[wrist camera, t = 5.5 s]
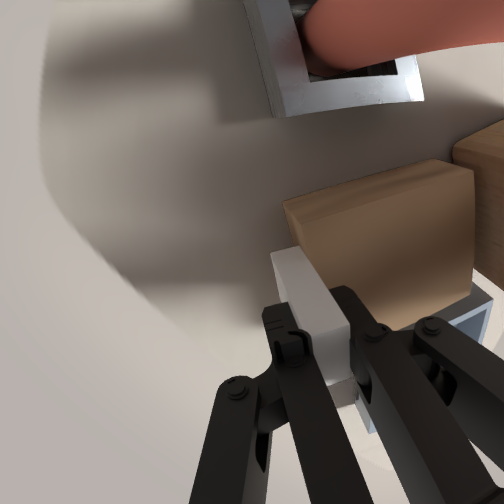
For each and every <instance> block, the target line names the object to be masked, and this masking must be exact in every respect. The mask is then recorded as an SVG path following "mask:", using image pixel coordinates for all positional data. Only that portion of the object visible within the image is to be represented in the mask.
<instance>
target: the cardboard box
mask: <svg viewBox="0 0 504 504" xmlns="http://www.w3.org/2000/svg"><path fill="white" fill-rule="evenodd" d="M282 204H283V207H284V211H285V214H286V218H287V222H288V226H289V229H290V233H291V237H292V240H293V244H294V247H295V246H300V248H301V249H302V251H303V252H304V254H305V255H306V257H307V258H308V260H309V261H310V263H311V264H312V266H313V267H314V269H315V270H316V272H317V273H318V275H319V276H320V278H321V279H322V281H323V283H324V284H325V286H326V287H327V289H331V288H335V287H338V286H342V285H345V286H347V287H349V288H351V289H353V291H354V292H355V293H356V294H357V296H358V298H360V300H361V301H362V303H363V304H364V305H365V306H366V308H367V309H368V310H369V312H370V313H371V314H372V316H373V317H374V319H375V320H376V321H377V323H382V324H385V325H387V326H388V327H389V328H391V329H392V330H393V331H397V330H400V329H402V328H404V327H406V326H408V325H411V324H413V323H415V322H417V321H418V320H419V319H421V318H423V317H427V316H430V315H432V314H434V313H436V312H438V311H440V310H442V309H444V308H446V307H448V306H449V305H451V304H453V303H455V302H457V301H459V300H461V299H463V298H465V297H466V296H468V295H470V292H471V284H472V273H473V261H474V244H475V186H474V171H473V170H470V169H467V168H463V167H460V166H457V165H454V164H450V163H447V162H443V161H440V160H436V159H429V160H426V161H422V162H418V163H414V164H410V165H407V166H403V167H399V168H396V169H392V170H388V171H385V172H381V173H377V174H374V175H370V176H367V177H363V178H360V179H356V180H353V181H349V182H346V183H342V184H339V185H336V186H332V187H329V188H326V189H322V190H319V191H316V192H312V193H309V194H306V195H302V196H299V197H296V198H293V199H289V200H286V201H283V202H282Z"/></svg>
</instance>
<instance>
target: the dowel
mask: <svg viewBox="0 0 504 504" xmlns="http://www.w3.org/2000/svg"><path fill="white" fill-rule="evenodd" d="M295 26H296V29H297V33H298V37H299V40H300V44H301V48H302V52H303V56H304V60H305V64H306V68H307V71H309V72H311V73H313V74H316V75H319V76H335V75H338V74H342V73H345V72H348V71H352V70H355V69H359V68H362V67H366V66H370V65H373V64H377V63H381V62H385V61H389V60H393V59H398V58H402V57H406V56H411V55H416V54H421V53H426V52H431V51H437V50H442V49H448V48H455V47H462V46H469V45H477V44H486V43H497V42H504V0H318V1H317V2H316V3H315V4H314V5H313V6H312V7H311V8H310V9H309V10H308V11H307V12H306V13H305V14H304V16H303V17H302V18H301V19H300V20H299V21H298V22H297V23H296V24H295Z"/></svg>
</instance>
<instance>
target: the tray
mask: <svg viewBox="0 0 504 504" xmlns="http://www.w3.org/2000/svg"><path fill="white" fill-rule="evenodd" d="M493 300H494V299H493V298H492V297H491V296H489V295H488V294H487V293H486V292H485V291H483V290H482V289H481V288H480V287H478V286H477V285H476V284H475V283H473V282H472V284H471V292H470V295H468V296H466V297H465V298H463V299H461V300H459V301H457V302H455V303H453V304H451V305H449V306H448V307H446V308H444V309H442V310H440V311H438V312H436V313H434V314H432V315H430V316H435V317H439V318H442V319H444V320H445V321H447V322H448V323H450V324H451V325H453V326H454V327H456V328H457V329H459V330H460V331H462V332H463V333H465V334H466V335H468V336H469V337H471V338H472V339H474V340H475V341H477V342H478V343H479V344H481V345H482V341H483V338H484V335H485V331H486V328H487V324H488V320H489V316H490V312H491V308H492V304H493ZM415 323H416V322H415ZM415 323H413V324H411V325H408V326H406V327H404V328H402V329H400V330H397V331H403V330H412V329H414V326H415ZM355 405H356V407H357V409H358V411H359V414H360V416H361V418H362V420H363V422H364V425H365V427H366V429H367V431H368V433H369V434H371V433H374V432H376V431H377V430H376V428H375V426H374V424H373V422H372V420H371V418H370V416H369V414H368V412H367V409H366V407H365V405H364V403H363V401H362V399H361V397H360V395H359V400H356V398H355Z"/></svg>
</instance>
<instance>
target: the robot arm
mask: <svg viewBox="0 0 504 504" xmlns="http://www.w3.org/2000/svg"><path fill="white" fill-rule="evenodd" d="M270 254H271V259H272V263H273V268H274V273H275V277H276V282H277V287H278V292H279V297H280V300H281V303H280V304H276V305H272V306H268V307H265V308H264V310H263V313H262V319H263V323H264V327H265V331H266V335H267V339H268V343H269V347H270V351H271V354H272V362H271V365H270V366H269V368H268V369H267V370H266V371H265V372H264V373H262V374H261V375H259V376H257V377H255V378H253V379H252V378H250V377H248V376H235V377H231V378H230V379H227V380H225V381H224V382H223V383H222V384H221V385H220V386H219V388H218V390H217V393H216V397H215V401H214V405H213V409H212V413H211V417H210V421H209V425H208V429H207V433H206V437H205V441H204V445H203V449H202V453H201V457H200V461H199V465H198V469H197V473H196V477H195V480H194V485H193V488H192V492H191V497H190V501H189V504H265V501H266V493H267V484H268V474H269V464H270V455H271V454H270V453H271V444H272V433H273V430H275V429H277V428H279V427H281V426H282V425H284V424H286V423H288V422H289V423H290V427H291V431H292V434H293V438H294V442H295V446H296V449H297V453H298V457H299V461H300V464H301V468H302V472H303V476H304V479H305V483H306V487H307V490H308V494H309V498H310V501H311V504H374V503H373V500H372V497H371V495H370V492H369V490H368V487H367V485H366V482H365V480H364V477H363V474H362V472H361V469H360V467H359V464H358V462H357V459H356V457H355V454H354V452H353V449H352V447H351V444H350V442H349V439H348V437H347V434H346V432H345V429H344V427H343V424H342V422H341V420H340V417H339V415H338V412H337V410H336V407H335V405H334V402H333V400H332V397H331V395H330V393H329V390H328V388H327V386H329V385H332V384H335V383H338V382H341V381H344V380H347V379H350V378H351V370H352V372H353V374H354V376H355V398H356V400H359V395H360V397H361V399H362V401H363V403H364V405H365V407H366V409H367V412H368V414H369V416H370V418H371V420H372V422H373V424H374V426H375V428H376V430H377V432H378V435H379V437H380V439H381V441H382V443H383V445H384V447H385V449H386V452H387V454H388V456H389V458H390V460H391V462H392V465H393V467H394V469H395V471H396V473H397V476H398V478H399V480H400V482H401V484H402V487H403V489H404V491H405V493H406V495H407V498H408V500H409V502H410V504H504V488H500V487H498V486H497V485H496V484H495V483H494V481H493V479H492V478H491V476H490V474H489V473H488V471H487V469H486V467H485V466H484V464H483V462H482V461H481V459H480V458H479V456H478V454H477V453H476V451H475V449H474V448H473V446H472V445H471V443H470V441H471V442H472V443H473V444H474V445H475V446H477V447H478V448H479V449H480V450H481V451H482V452H483V453H484V454H485V455H486V456H487V457H489V458H490V459H491V460H492V461H493V462H494V463H495V464H496V465H497V466H498V467H499V468H500V469H501V470H503V471H504V360H502V359H501V358H499V357H498V356H497V355H495V354H494V353H492V352H491V351H490V350H488V349H487V348H485V347H484V346H482V345H481V344H479V343H478V342H477V341H475V340H474V339H472V338H471V337H469V336H468V335H466V334H465V333H463V332H462V331H460V330H459V329H457V328H456V327H454V326H453V325H451V324H450V323H448V322H447V321H445V320H444V319H442V318H439V317H435V316H427V317H423V318H421V319H419V320H418V321H417V322H416V323H415V326H414V329H412V330H403V331H393V330H392V329H391V328H389V327H388V326H387V325H385V324H382V323H377V321H376V320H375V319H374V317H373V316H372V314H371V313H370V312H369V310H368V309H367V308H366V306H365V305H364V304H363V303H362V301H361V300H360V298H358V296H357V294H356V293H355V292H354V291H353V289H351V288H349V287H347V286H345V285H342V286H338V287H335V288H331V289H327V287H326V286H325V284H324V283H323V281H322V279H321V278H320V276H319V275H318V273H317V272H316V270H315V269H314V267H313V266H312V264H311V263H310V261H309V260H308V258H307V257H306V255H305V254H304V252H303V251H302V249H301V248H300V246H295V247H291V248H287V249H283V250H279V251H275V252H271V253H270ZM468 439H469V440H470V441H469V440H468Z"/></svg>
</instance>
